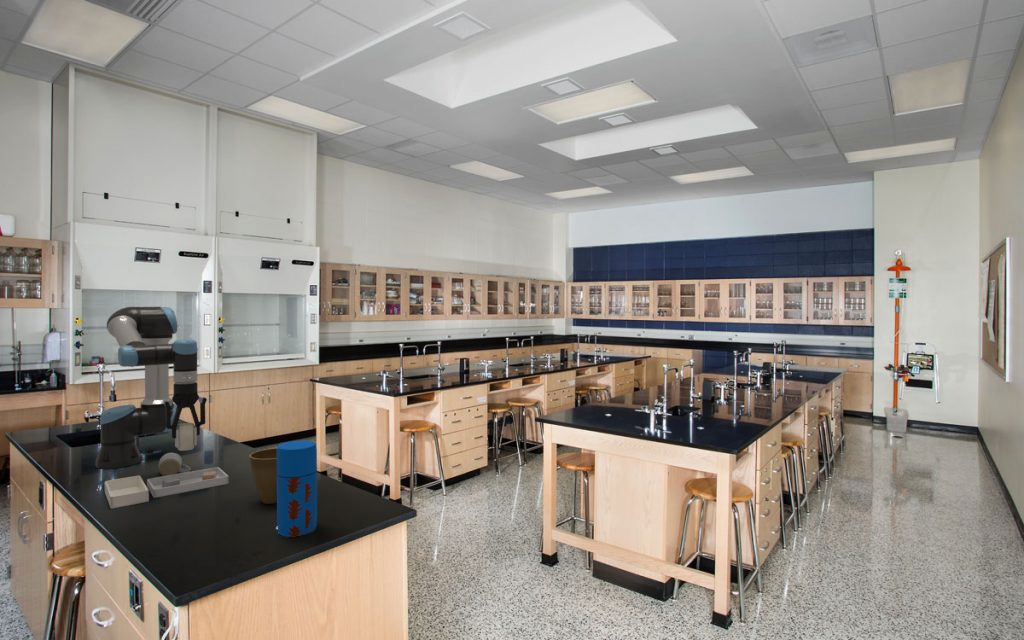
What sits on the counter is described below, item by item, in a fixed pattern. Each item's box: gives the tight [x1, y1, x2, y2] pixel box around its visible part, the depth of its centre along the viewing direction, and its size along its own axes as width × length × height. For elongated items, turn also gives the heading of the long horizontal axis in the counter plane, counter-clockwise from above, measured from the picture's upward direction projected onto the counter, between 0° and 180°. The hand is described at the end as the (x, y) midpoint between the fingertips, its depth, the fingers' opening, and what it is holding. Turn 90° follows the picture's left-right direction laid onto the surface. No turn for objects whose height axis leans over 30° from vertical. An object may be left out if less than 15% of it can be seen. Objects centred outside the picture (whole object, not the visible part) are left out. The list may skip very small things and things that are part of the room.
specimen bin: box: [104, 474, 150, 510], centre depth 186 cm, size 21×10×4 cm, turn 41°
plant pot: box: [249, 447, 277, 505], centre depth 184 cm, size 15×15×16 cm
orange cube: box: [202, 471, 216, 481], centre depth 199 cm, size 4×4×4 cm
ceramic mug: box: [157, 452, 192, 476], centre depth 212 cm, size 11×8×8 cm
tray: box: [146, 466, 230, 499], centre depth 198 cm, size 15×23×3 cm, turn 131°
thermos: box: [276, 440, 318, 537], centre depth 160 cm, size 11×11×25 cm
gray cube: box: [162, 478, 180, 488], centre depth 191 cm, size 4×4×4 cm
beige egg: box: [177, 422, 195, 452], centre depth 200 cm, size 5×5×9 cm
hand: (185, 445), depth 201 cm, fingers closed on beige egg, 5 cm apart
